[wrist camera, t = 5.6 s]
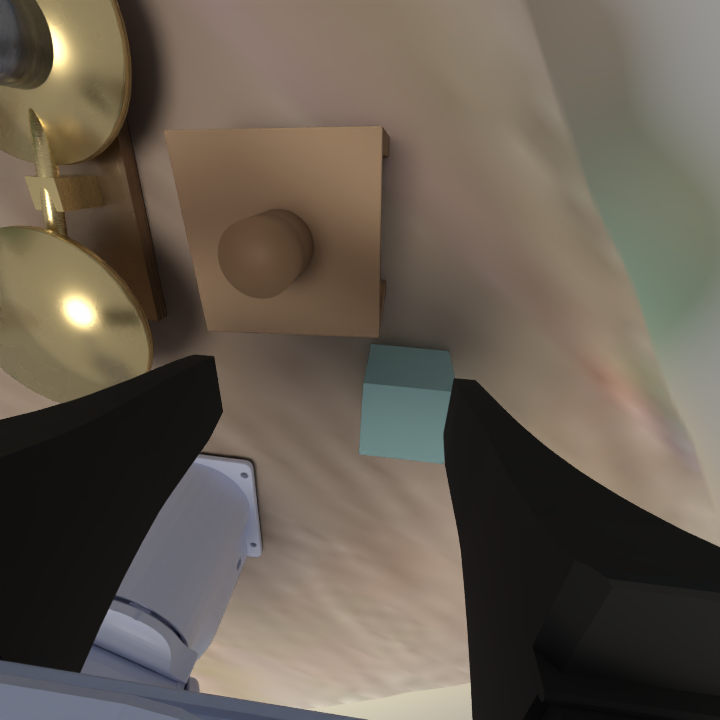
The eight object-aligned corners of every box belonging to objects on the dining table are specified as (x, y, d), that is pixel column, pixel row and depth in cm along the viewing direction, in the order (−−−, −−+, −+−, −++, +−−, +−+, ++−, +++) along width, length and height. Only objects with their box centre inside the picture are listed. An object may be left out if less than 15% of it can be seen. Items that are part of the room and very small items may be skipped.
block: (437, 413, 21) (443, 463, 17) (366, 406, 21) (358, 454, 18) (448, 350, 19) (458, 392, 16) (371, 343, 19) (363, 382, 16)
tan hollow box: (385, 295, 18) (373, 369, 12) (253, 292, 19) (173, 360, 12) (389, 136, 15) (376, 116, 8) (231, 139, 16) (107, 122, 9)
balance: (210, 367, 21) (163, 417, 17) (78, 353, 22) (2, 398, 18) (138, -96, 13) (8, -220, 8) (-78, -99, 13) (-297, -217, 9)
